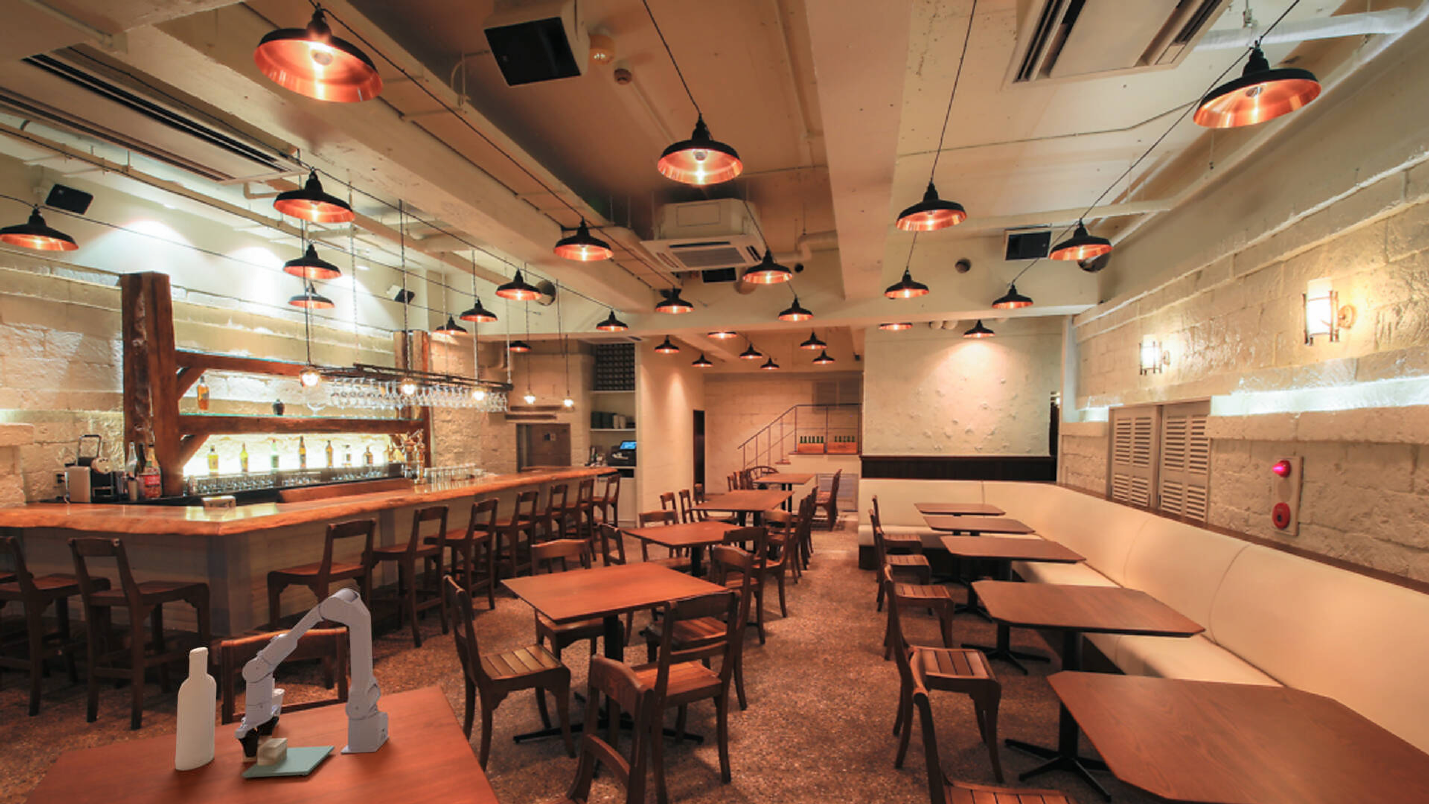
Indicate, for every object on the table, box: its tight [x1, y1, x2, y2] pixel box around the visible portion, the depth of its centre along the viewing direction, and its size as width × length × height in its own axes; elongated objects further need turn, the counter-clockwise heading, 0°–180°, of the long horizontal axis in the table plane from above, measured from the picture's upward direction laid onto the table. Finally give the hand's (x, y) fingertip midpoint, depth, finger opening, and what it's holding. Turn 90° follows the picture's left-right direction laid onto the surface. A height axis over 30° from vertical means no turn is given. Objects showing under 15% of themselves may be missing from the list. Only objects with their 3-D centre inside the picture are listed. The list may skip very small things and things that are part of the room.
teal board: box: [241, 745, 336, 780], centre depth 155 cm, size 16×12×2 cm
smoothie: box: [272, 677, 285, 727], centre depth 177 cm, size 6×6×14 cm
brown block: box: [242, 734, 273, 763], centre depth 160 cm, size 4×4×4 cm
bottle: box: [174, 647, 217, 771], centre depth 158 cm, size 8×8×30 cm
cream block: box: [257, 737, 288, 765], centre depth 155 cm, size 4×4×4 cm
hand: (257, 751), depth 160 cm, fingers closed on brown block, 4 cm apart
